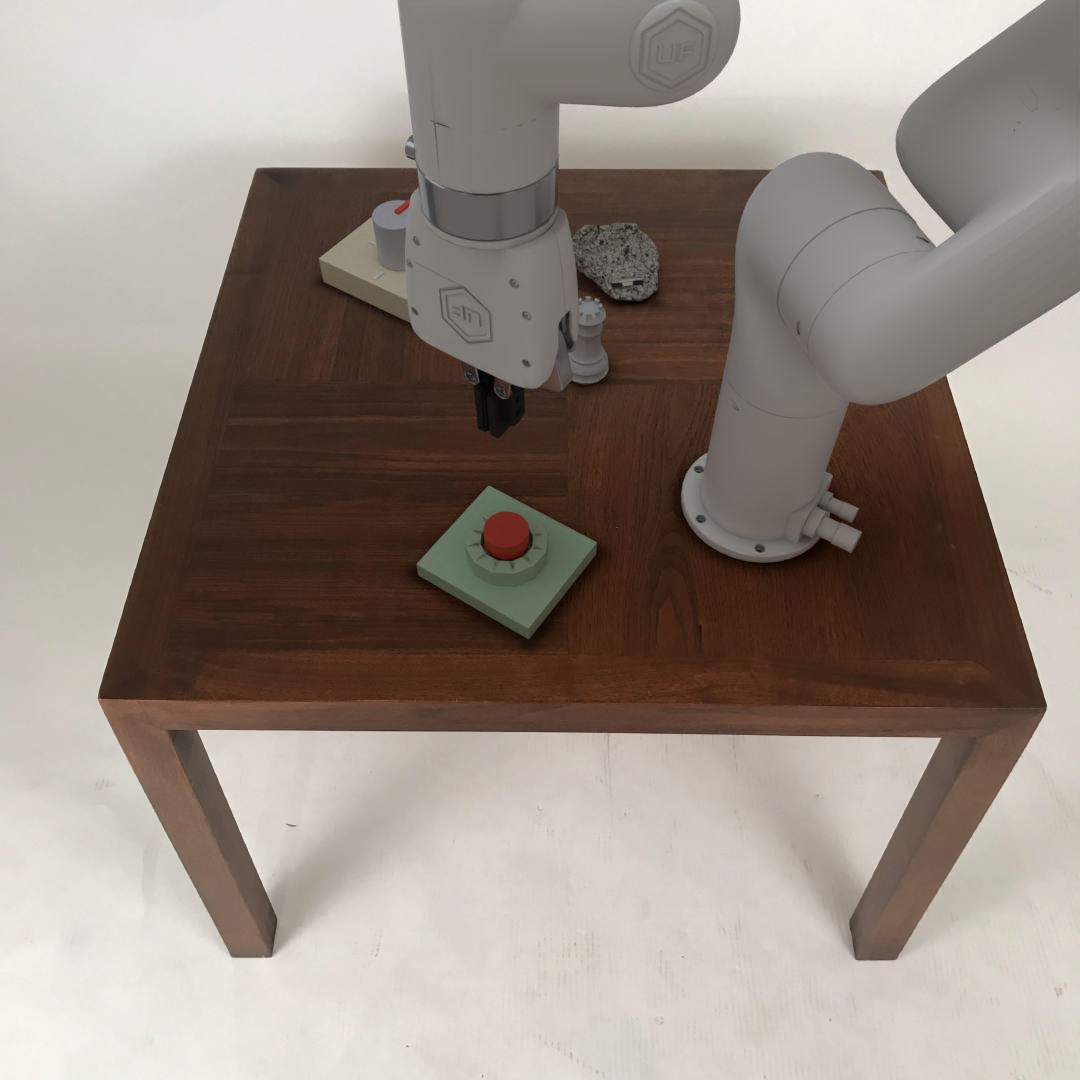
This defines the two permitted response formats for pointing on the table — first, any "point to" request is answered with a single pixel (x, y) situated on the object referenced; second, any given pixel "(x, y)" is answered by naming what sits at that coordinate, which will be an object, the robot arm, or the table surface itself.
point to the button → (506, 535)
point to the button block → (507, 564)
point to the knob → (391, 233)
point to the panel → (365, 272)
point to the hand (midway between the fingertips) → (500, 421)
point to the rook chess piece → (589, 344)
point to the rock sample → (618, 259)
